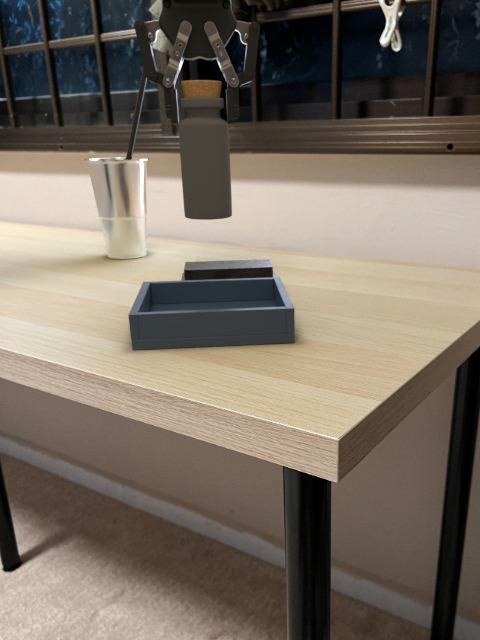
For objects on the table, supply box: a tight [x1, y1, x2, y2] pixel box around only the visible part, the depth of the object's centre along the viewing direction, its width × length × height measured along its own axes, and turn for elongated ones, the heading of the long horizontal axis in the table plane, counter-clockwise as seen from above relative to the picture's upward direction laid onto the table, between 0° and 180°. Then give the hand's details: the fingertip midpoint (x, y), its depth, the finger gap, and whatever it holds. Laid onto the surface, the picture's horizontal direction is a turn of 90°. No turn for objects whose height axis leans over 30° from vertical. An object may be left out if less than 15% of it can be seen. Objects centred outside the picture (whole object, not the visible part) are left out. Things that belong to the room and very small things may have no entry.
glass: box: [83, 65, 150, 260], centre depth 97 cm, size 11×11×30 cm
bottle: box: [178, 79, 233, 221], centre depth 72 cm, size 6×6×15 cm
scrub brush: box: [180, 258, 277, 281], centre depth 78 cm, size 12×6×4 cm, turn 97°
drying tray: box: [128, 276, 296, 351], centre depth 64 cm, size 16×14×4 cm
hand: (203, 123), depth 71 cm, fingers closed on bottle, 5 cm apart
